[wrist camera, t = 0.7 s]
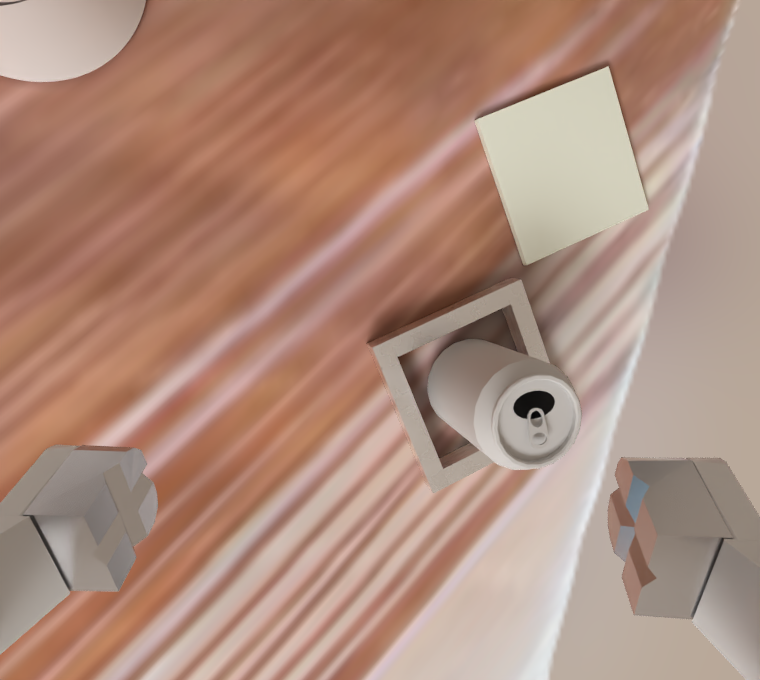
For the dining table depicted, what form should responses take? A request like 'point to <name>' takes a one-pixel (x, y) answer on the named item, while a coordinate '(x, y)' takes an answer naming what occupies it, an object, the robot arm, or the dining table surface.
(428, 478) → the square picture frame
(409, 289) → the dining table surface
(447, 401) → the can
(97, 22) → the robot arm
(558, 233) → the tile
